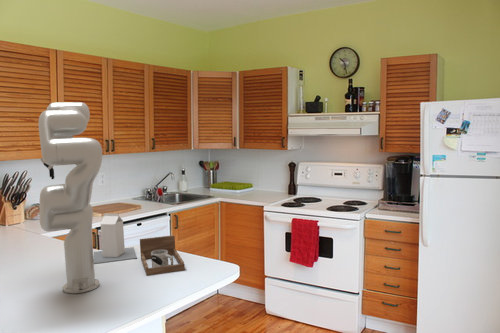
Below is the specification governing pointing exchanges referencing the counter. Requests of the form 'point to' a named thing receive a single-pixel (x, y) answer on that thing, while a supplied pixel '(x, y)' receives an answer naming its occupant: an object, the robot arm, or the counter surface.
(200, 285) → the counter surface
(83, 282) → the robot arm
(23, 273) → the counter surface
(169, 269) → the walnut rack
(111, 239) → the milk carton
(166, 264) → the mug
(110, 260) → the slate mat
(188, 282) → the counter surface
